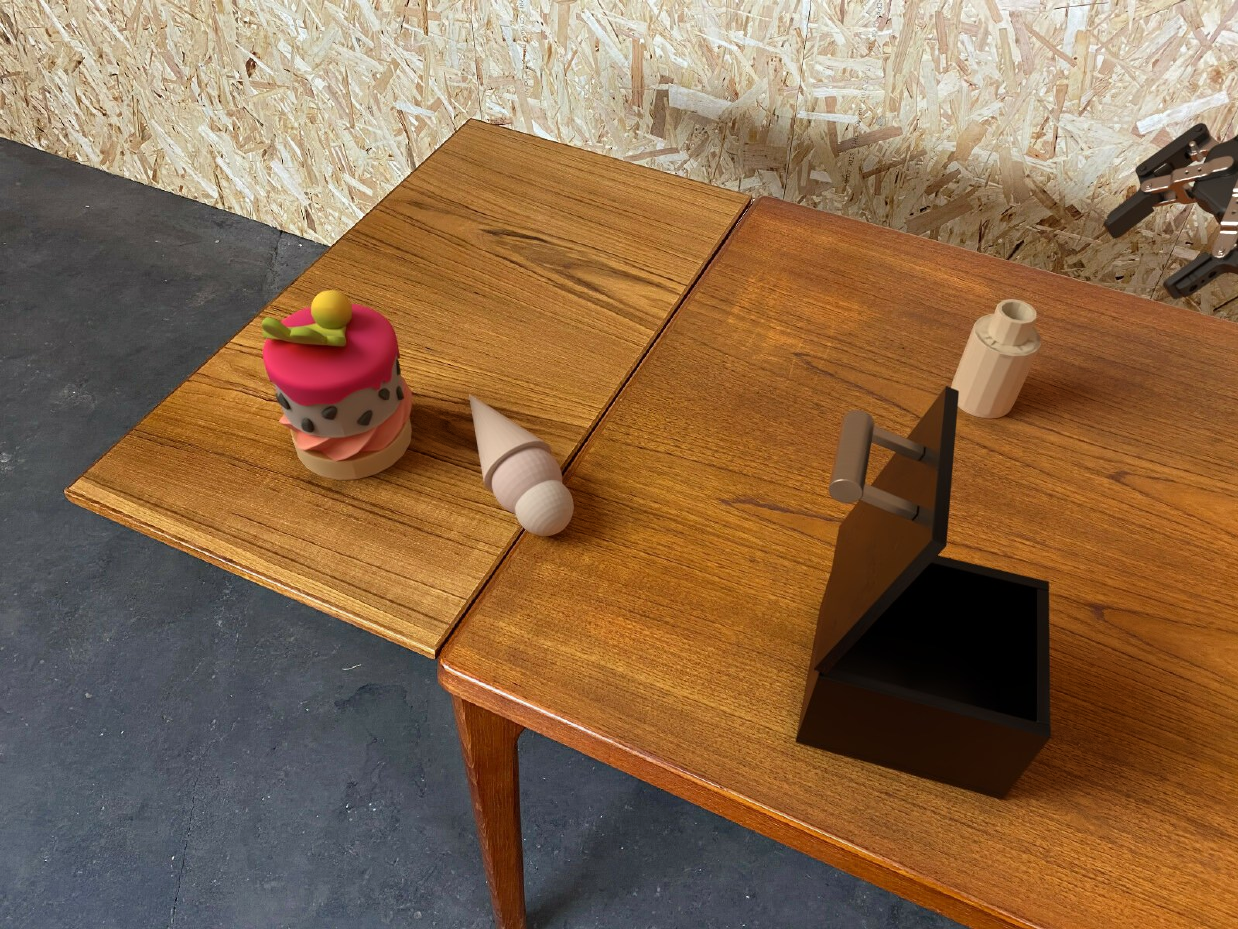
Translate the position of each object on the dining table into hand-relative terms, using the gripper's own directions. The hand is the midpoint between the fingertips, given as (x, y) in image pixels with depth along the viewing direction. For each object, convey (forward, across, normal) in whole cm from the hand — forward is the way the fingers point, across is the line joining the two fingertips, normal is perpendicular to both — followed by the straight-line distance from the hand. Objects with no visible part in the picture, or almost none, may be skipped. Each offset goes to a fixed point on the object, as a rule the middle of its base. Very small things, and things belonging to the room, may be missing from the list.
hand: (1137, 261), depth 79 cm
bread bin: (+31, +27, -11) cm, 42 cm away
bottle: (+16, 0, +3) cm, 17 cm away
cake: (+56, -7, -37) cm, 68 cm away
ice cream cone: (+48, +2, -28) cm, 55 cm away
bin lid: (+22, +24, -26) cm, 42 cm away
